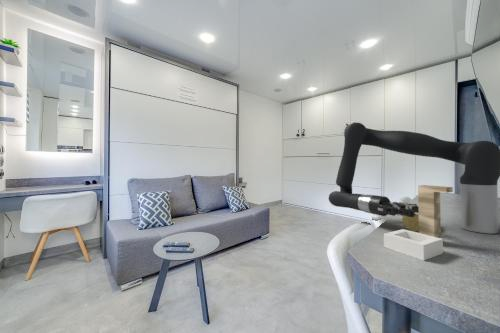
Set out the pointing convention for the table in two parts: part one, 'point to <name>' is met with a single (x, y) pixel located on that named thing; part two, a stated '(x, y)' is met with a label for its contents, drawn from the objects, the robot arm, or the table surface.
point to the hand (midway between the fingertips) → (421, 212)
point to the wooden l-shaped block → (430, 209)
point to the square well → (413, 244)
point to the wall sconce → (411, 222)
